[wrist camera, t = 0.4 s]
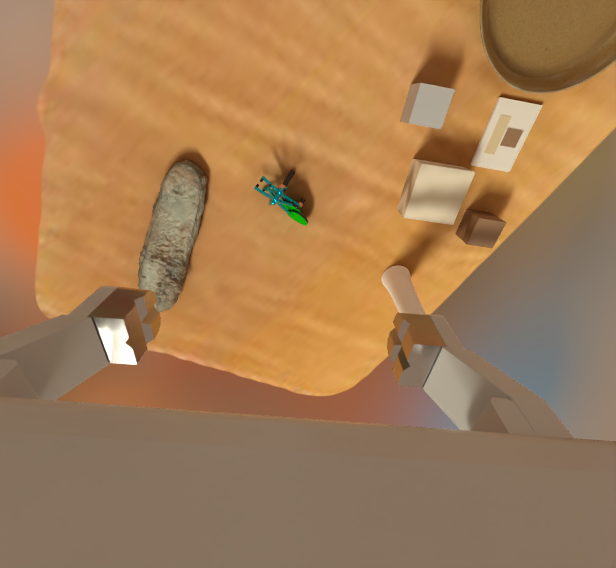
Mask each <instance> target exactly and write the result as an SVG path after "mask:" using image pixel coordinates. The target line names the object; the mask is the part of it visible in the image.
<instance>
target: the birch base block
mask: <svg viewBox="0 0 616 568" xmlns="http://www.w3.org/2000/svg"><path fill="white" fill-rule="evenodd" d="M474 175H475V172H474V171H472V170H470V169H468V168H465V167H463V166H457V165H451V164H445V163H438V162H432V161H426V160H419V159H412V163H411V166H410V169H409V172H408V175H407V179H406V182H405V185H404V188H403V191H402V195H401V198H400V201H399V204H398V208H397V210H398V211H399V212H400V214H401V215H402V216H403V218H408V219H415V220H422V221H429V222H436V223H443V224H450V225H453V224H454V221H455V219H456V217H457V214H458V212H459V210H460V207H461V205H462V203H463V200H464V198H465V196H466V193H467V191H468V189H469V186H470V184H471V182H472V179H473V177H474Z"/></svg>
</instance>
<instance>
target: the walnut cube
mask: <svg viewBox="0 0 616 568" xmlns="http://www.w3.org/2000/svg"><path fill="white" fill-rule="evenodd" d="M505 224H506V222H505V221H503V220H502V219H500V218H498V217H497V216H495V215H494V214H492V213H486V212H480V211H474V210H468V209H467V210H466V212H465V214H464V216H463V219H462V221H461V223H460V225H459V227H458V230H457V232H456V235H457V236H458V237H459V238H461V239H462V240H463V241H464V242H465V243H466V244H468V245H475V246H481V247H487V248H493V246H494V245H495V243H496V241H497V239H498V237H499V235H500V233H501V232H502V230H503V228H504V226H505Z"/></svg>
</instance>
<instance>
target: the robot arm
mask: <svg viewBox="0 0 616 568" xmlns="http://www.w3.org/2000/svg"><path fill="white" fill-rule="evenodd" d="M156 302H157V299H156V295H155V293H154V292H153V291H151V290H143V289H134V288H125V287H115V286H102V287H100V288H99V289H98V290H96V291H95V292H94V293H93V294H92V295H91V296H90V297H88V298H87V299H86V300H85V301H84V302H83V303H81V304H80V305H79V306H78V307H77V308H76V309H74V310H73V311H72V312H71V313H70V314H69V315H61V316H58V317H55V318H53V319H50V320H47V321H45V322H42V323H39V324H37V325H34V326H31V327H29V328H26V329H23V330H21V331H18V332H15V333H13V334H10V335H7V336H4V337H2V338H0V568H616V441H604V440H590V439H577V438H576V439H575V438H573V436H572V435H571V434H570V433H569V431H568V430H567V429H566V427H565V426H564V425H563V424H562V422H561V421H560V420H559V418H558V417H557V416H556V414H555V413H554V412H553V411H552V409H551V408H550V407H549V405H548V404H547V403H546V402H545V400H543V399H542V398H540V397H539V396H537V395H536V394H534V393H533V392H531V391H530V390H528V389H527V388H525V387H524V386H522V385H521V384H519V383H518V382H516V381H515V380H514V379H512V378H510V377H509V376H508V375H506V374H505V373H503V372H502V371H500V370H499V369H497V368H496V367H494V366H493V365H491V364H490V363H488V362H487V361H485V360H484V359H482V358H481V357H479V356H478V355H476V354H475V353H474V352H472V351H471V350H469V349H464V348H463V346H462V345H461V343H460V342H459V340H458V338H457V337H456V335H455V334H454V332H453V330H452V329H451V327H450V325H449V324H448V322H447V320H446V319H445V317H443V316H442V315H422V314H409V313H397V314H396V316H395V318H394V321H393V323H394V325H395V328H394V329H393V330H392V331H390V333H389V337H388V343H387V349H388V355H389V359H391V360H392V361H393V362H394V366H393V372H394V375H395V378H396V382H397V385H403V386H412V387H422V388H423V390H424V391H425V392H426V393H427V394H428V395H429V396H430V397H431V398H432V399H433V400H434V401H435V402H436V404H437V405H438V406H439V407H440V408H441V409H442V410H443V411H444V412H445V413H446V415H447V416H448V417H449V418H450V419H451V420H452V421H453V422H454V423H455V424H456V425H457V426H458V428H459V429H460V430H453V429H438V428H425V427H412V426H398V425H383V424H370V423H357V422H342V421H330V420H316V419H303V418H302V419H301V418H288V417H275V416H261V415H248V414H247V415H246V414H234V413H220V412H206V411H192V410H179V409H165V408H151V407H137V406H124V405H110V404H96V403H82V402H69V401H55V400H56V399H58V398H59V397H61V396H62V395H64V394H65V393H67V392H68V391H70V390H71V389H73V388H74V387H76V386H77V385H79V384H80V383H82V382H83V381H85V380H86V379H88V378H89V377H91V376H92V375H94V374H95V373H97V372H98V371H100V370H101V369H103V368H104V367H106V366H107V365H109V363H118V364H138V362H139V361H140V359H141V358H142V356H143V355H144V353H145V352H146V350H147V345H146V343H148V342H150V341H152V340H154V339H155V337H156V335H157V334H158V331H159V328H160V325H161V317H160V312H159V311H158V310H157V309H156V308H155V307H154V305H155V303H156Z"/></svg>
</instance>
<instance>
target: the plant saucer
mask: <svg viewBox="0 0 616 568" xmlns="http://www.w3.org/2000/svg"><path fill="white" fill-rule="evenodd" d="M480 29H481V37H482V42H483V46H484V49H485V53H486V55H487V58H488V60H489V62H490V64H491V65H492V67H493V69H494V70H495V71H496V73H497V74H498V75H499V76H500V77H501V78H502V79H503V80H504V81H505V82H506V83H508V84H509V85H511V86H512V87H514V88H516V89H519V90H521V91H524V92H529V93H536V94H545V93H554V92H559V91H563V90H566V89H569V88H572V87H574V86H577V85H579V84H581V83H583V82H585V81H587V80H589V79H591V78H592V77H594V76H596V75H597V74H599V73H600V72H602V71H603V70H605V69H606V68H607V67H609V66H610V65H611V64H613V63H614V62H615V61H616V0H481V4H480Z"/></svg>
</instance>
